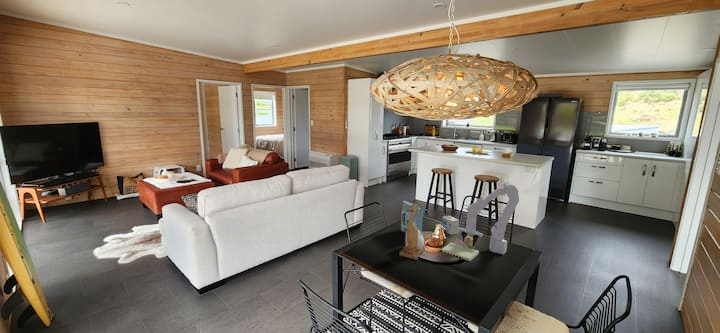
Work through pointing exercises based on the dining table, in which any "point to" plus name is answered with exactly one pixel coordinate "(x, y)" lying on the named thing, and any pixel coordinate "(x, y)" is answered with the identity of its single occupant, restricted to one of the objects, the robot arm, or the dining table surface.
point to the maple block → (468, 242)
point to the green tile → (460, 251)
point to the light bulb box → (450, 224)
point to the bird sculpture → (411, 236)
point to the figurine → (418, 240)
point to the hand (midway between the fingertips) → (469, 244)
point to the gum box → (407, 214)
